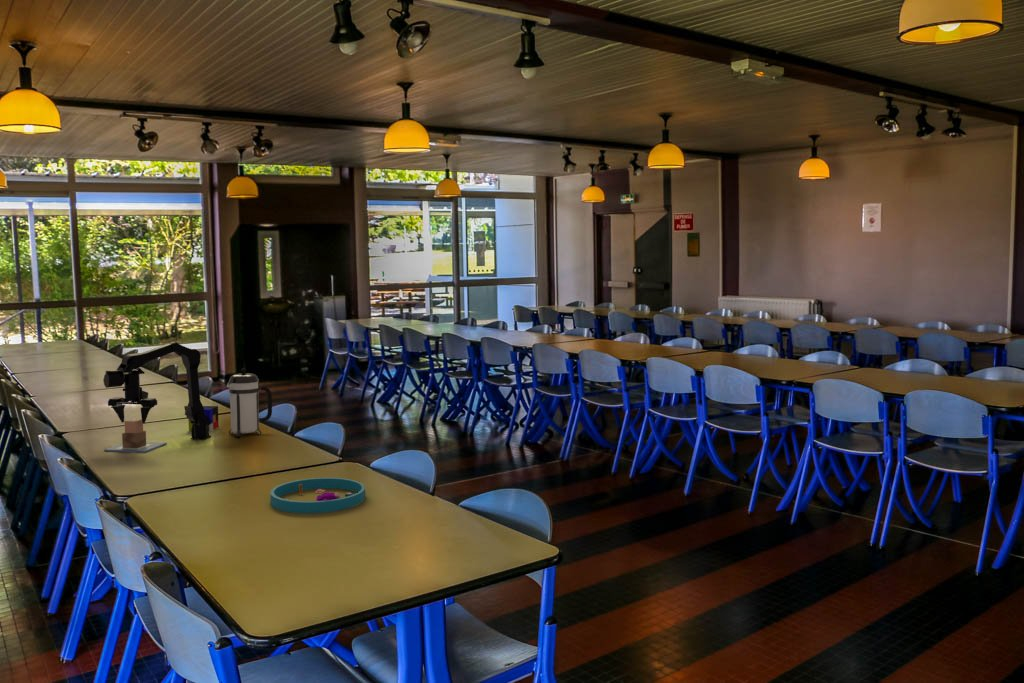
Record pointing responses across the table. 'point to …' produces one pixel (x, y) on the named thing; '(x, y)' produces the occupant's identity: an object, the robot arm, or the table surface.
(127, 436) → the walnut block
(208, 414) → the puzzle toy
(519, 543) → the table surface
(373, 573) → the table surface
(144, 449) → the mat
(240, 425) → the coffee press
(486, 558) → the table surface
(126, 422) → the terracotta block
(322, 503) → the teal ring
